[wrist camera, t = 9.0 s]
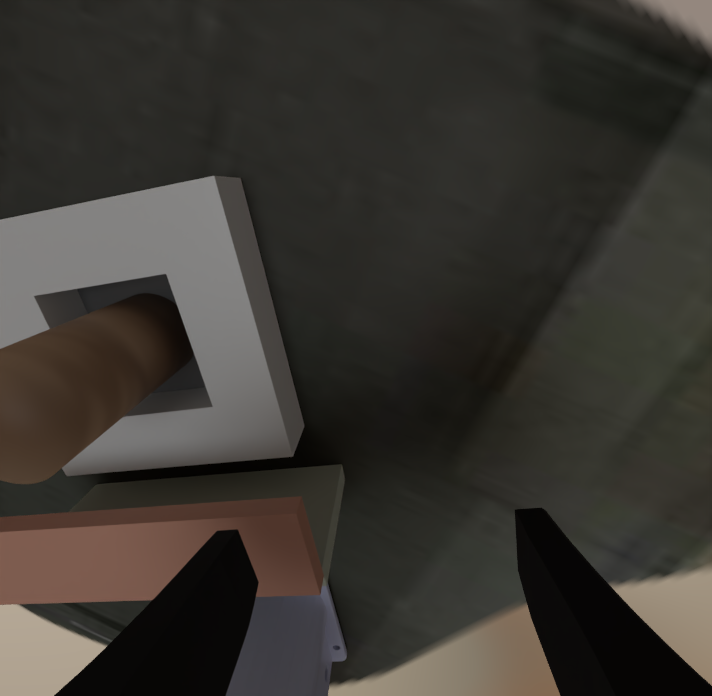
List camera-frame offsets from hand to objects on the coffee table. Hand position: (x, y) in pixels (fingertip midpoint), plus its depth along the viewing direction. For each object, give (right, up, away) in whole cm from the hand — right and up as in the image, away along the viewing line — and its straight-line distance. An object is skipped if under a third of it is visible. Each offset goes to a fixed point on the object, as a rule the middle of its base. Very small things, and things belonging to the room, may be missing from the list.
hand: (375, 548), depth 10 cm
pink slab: (-9, -1, +11) cm, 14 cm away
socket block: (-10, +6, +9) cm, 15 cm away
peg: (-10, +6, +9) cm, 14 cm away
